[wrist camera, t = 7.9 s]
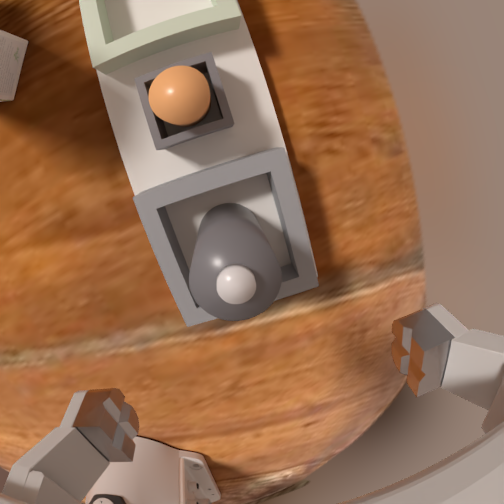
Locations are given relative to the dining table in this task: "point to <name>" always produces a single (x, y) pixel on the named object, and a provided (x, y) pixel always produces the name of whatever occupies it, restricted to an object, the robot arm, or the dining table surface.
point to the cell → (233, 265)
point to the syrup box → (10, 63)
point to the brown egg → (180, 96)
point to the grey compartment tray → (197, 133)
